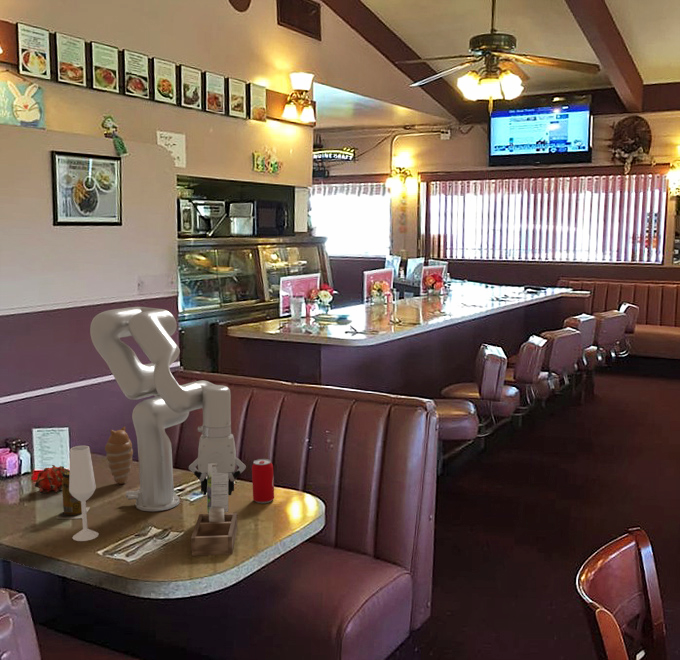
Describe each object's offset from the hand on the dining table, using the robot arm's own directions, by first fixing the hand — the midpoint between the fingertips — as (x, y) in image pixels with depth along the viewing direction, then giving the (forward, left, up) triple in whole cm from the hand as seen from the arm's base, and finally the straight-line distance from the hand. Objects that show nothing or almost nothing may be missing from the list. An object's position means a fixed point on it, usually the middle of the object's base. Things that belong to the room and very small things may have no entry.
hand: (217, 493), depth 218 cm
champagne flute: (-34, -9, -8) cm, 36 cm away
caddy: (+1, -16, -8) cm, 17 cm away
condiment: (-42, +8, -8) cm, 44 cm away
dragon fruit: (-54, +28, -8) cm, 62 cm away
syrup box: (0, 0, -5) cm, 5 cm away
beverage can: (+12, +13, -8) cm, 20 cm away
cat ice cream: (-34, +33, -8) cm, 48 cm away
